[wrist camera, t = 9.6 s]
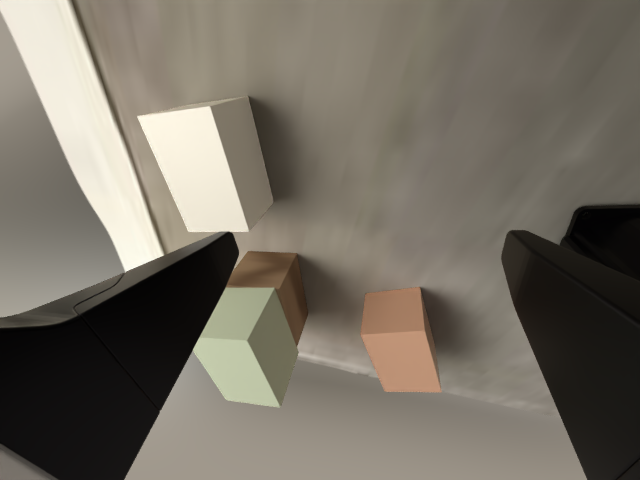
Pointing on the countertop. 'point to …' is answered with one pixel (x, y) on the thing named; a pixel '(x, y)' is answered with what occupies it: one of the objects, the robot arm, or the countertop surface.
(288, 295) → the walnut brick
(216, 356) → the sage brick
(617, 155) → the countertop surface
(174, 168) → the off-white brick
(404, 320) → the terracotta brick
